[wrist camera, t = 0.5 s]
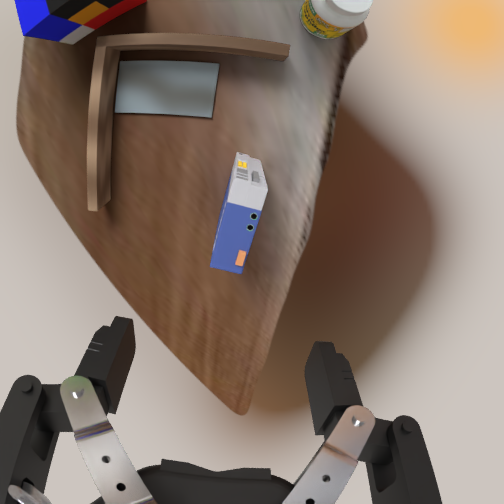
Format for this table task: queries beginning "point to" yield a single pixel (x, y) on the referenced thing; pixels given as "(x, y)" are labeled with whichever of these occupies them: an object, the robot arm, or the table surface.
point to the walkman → (239, 214)
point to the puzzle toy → (68, 17)
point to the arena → (153, 88)
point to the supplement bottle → (333, 16)
